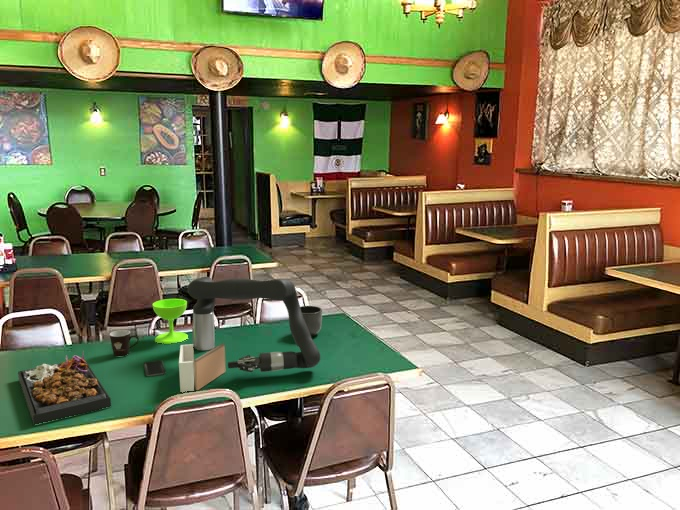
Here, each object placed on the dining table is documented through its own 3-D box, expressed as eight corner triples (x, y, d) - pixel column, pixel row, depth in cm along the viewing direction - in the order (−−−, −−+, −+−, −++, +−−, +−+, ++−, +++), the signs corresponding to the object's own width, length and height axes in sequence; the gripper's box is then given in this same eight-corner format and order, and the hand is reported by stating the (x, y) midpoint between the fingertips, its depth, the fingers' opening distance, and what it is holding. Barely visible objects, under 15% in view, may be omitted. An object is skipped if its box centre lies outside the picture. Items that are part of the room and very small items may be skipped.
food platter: (19, 382, 223) (16, 357, 221) (85, 368, 237) (83, 345, 235) (34, 428, 187) (31, 399, 185) (111, 408, 201) (109, 382, 199)
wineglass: (163, 332, 281) (161, 298, 277) (193, 334, 278) (192, 299, 275) (148, 343, 265) (146, 307, 262) (180, 345, 263) (178, 308, 259)
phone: (145, 375, 226) (143, 362, 240) (145, 378, 227) (143, 364, 240) (166, 372, 229) (162, 359, 243) (166, 375, 230) (162, 362, 243)
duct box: (180, 392, 212) (178, 363, 210) (182, 372, 232) (180, 345, 229) (194, 391, 214) (192, 362, 211) (194, 371, 233) (193, 344, 230)
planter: (294, 330, 285) (293, 305, 283) (321, 329, 287) (321, 305, 284) (294, 339, 272) (294, 314, 269) (323, 338, 273) (323, 313, 271)
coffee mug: (106, 356, 249) (105, 334, 247) (121, 349, 257) (119, 329, 255) (127, 360, 244) (125, 338, 243) (141, 353, 252) (139, 332, 250)
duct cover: (195, 389, 214) (194, 359, 212) (223, 371, 232) (222, 343, 230) (197, 390, 214) (196, 360, 212) (225, 371, 232) (224, 343, 229)
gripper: (269, 347, 232) (226, 350, 228) (273, 358, 220) (228, 362, 216) (269, 364, 234) (227, 367, 230) (273, 376, 221) (229, 380, 217)
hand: (228, 365), depth 223 cm, fingers closed
